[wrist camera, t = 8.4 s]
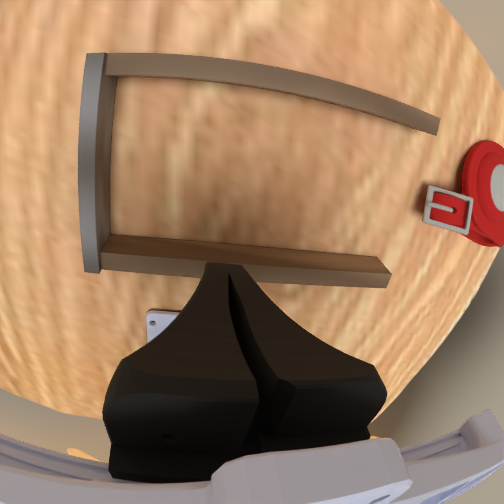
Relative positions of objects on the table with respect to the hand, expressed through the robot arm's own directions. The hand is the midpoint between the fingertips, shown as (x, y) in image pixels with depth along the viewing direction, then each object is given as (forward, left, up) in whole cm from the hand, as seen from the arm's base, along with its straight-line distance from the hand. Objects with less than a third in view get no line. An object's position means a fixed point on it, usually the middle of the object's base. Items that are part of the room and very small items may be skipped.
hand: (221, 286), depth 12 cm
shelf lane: (+2, -2, -9) cm, 10 cm away
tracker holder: (+4, -20, -10) cm, 23 cm away
